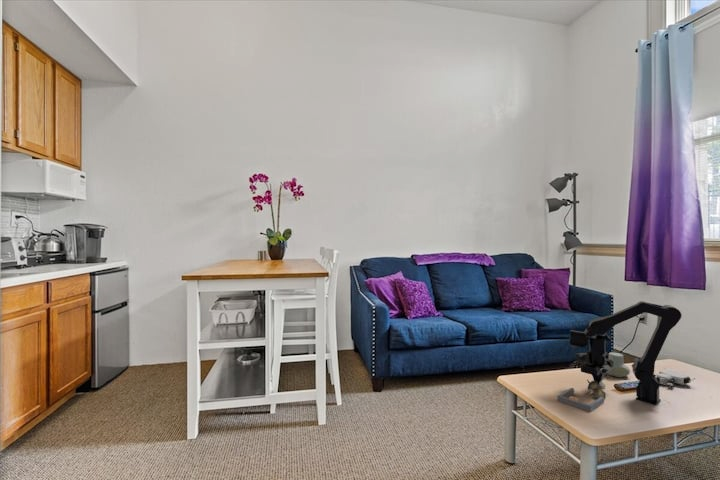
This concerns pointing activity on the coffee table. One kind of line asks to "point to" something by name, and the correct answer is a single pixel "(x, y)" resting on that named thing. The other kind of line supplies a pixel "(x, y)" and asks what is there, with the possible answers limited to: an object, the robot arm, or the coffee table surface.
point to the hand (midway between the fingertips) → (597, 386)
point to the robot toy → (672, 377)
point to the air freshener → (617, 365)
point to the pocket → (576, 403)
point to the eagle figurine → (597, 389)
